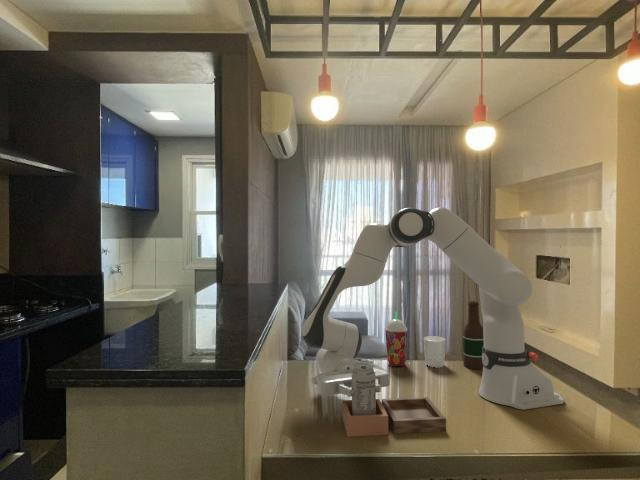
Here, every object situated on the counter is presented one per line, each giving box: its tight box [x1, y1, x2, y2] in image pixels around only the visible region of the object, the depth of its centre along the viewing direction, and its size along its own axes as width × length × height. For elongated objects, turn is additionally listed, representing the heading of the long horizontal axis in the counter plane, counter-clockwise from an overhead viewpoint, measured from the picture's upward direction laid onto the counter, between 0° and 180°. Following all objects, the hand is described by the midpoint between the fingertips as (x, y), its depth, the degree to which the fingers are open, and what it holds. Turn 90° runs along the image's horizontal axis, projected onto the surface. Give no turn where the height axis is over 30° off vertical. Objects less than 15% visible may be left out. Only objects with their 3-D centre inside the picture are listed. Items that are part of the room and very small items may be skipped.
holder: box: [341, 398, 389, 438], centre depth 95 cm, size 10×10×4 cm
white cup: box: [423, 335, 446, 369], centre depth 142 cm, size 8×8×10 cm
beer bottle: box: [462, 300, 484, 370], centre depth 140 cm, size 8×8×24 cm
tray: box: [381, 396, 447, 434], centre depth 98 cm, size 13×13×3 cm
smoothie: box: [384, 311, 408, 367], centre depth 143 cm, size 8×8×20 cm
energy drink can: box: [351, 364, 377, 416], centre depth 96 cm, size 6×6×15 cm
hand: (365, 391), depth 95 cm, fingers closed on energy drink can, 6 cm apart
